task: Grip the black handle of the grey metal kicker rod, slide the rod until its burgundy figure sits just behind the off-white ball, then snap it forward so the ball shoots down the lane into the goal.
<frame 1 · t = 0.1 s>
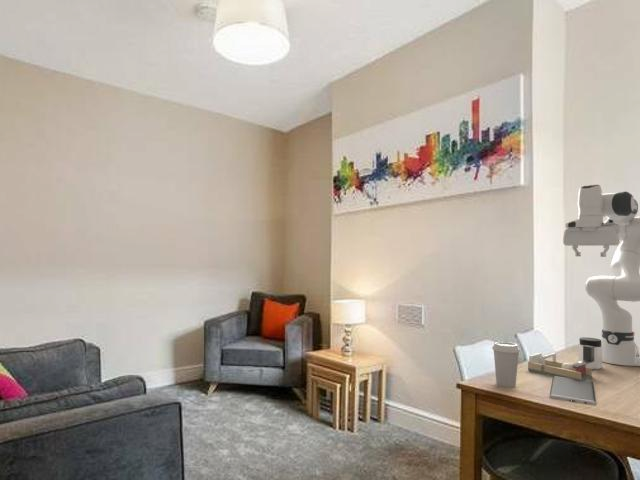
hand: (590, 256, 181), 48 cm above the table, tool pointing down, fingers open, 8 cm apart
pitch: (559, 373, 178), on the table
coffee cup: (505, 385, 161), on the table
jar: (590, 367, 190), on the table
kicker rod: (582, 361, 173), point 6 cm above the table, slide at 0.0 cm
smartphone: (572, 392, 156), on the table
ball: (566, 368, 175), point 3 cm above the table, touching pitch
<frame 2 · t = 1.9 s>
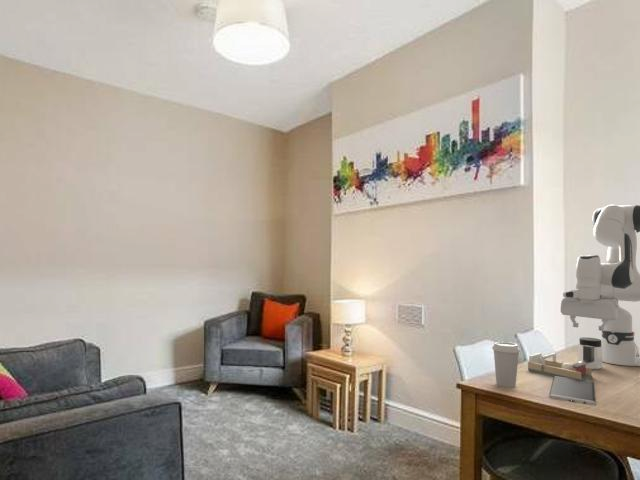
hand: (588, 328, 177), 19 cm above the table, tool pointing down, fingers open, 8 cm apart
nothing on the table moved.
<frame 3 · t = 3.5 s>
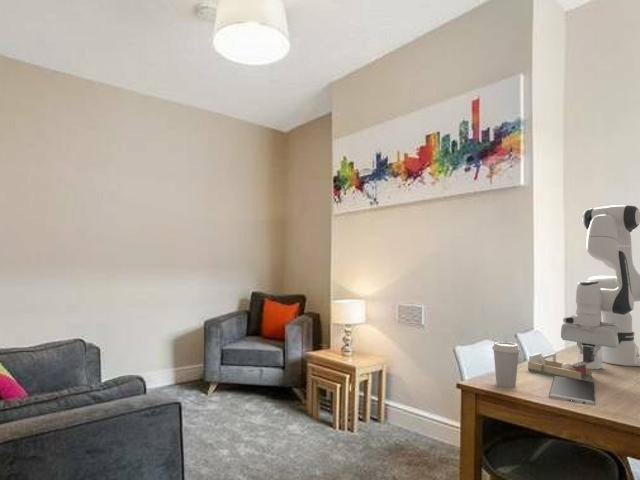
hand: (588, 354, 177), 8 cm above the table, tool pointing down, fingers closed on kicker rod, 3 cm apart
kicker rod: (582, 361, 173), point 6 cm above the table, slide at 0.0 cm, touching gripper
everything else where it was.
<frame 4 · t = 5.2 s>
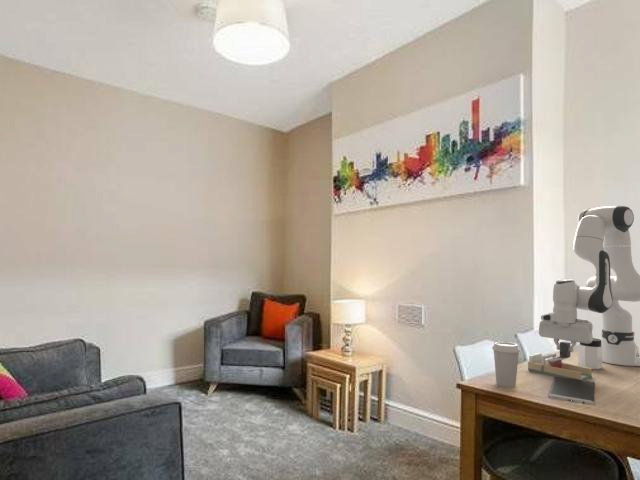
hand: (564, 350, 184), 8 cm above the table, tool pointing down, fingers closed on kicker rod, 3 cm apart
kicker rod: (558, 356, 180), point 6 cm above the table, slide at 9.0 cm, touching gripper
ball: (547, 364, 181), point 3 cm above the table, tilted 157°, touching pitch
everything else where it was.
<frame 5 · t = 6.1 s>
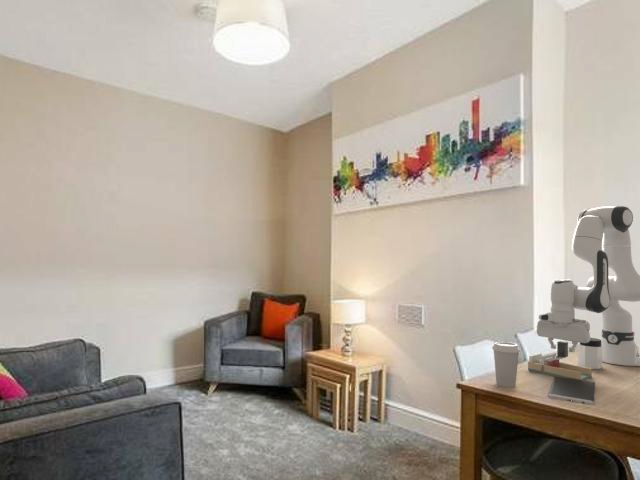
hand: (562, 350, 184), 8 cm above the table, tool pointing down, fingers open, 6 cm apart
kicker rod: (556, 356, 181), point 6 cm above the table, slide at 10.0 cm
ball: (543, 363, 182), point 3 cm above the table, tilted 111°, touching pitch
everything else where it was.
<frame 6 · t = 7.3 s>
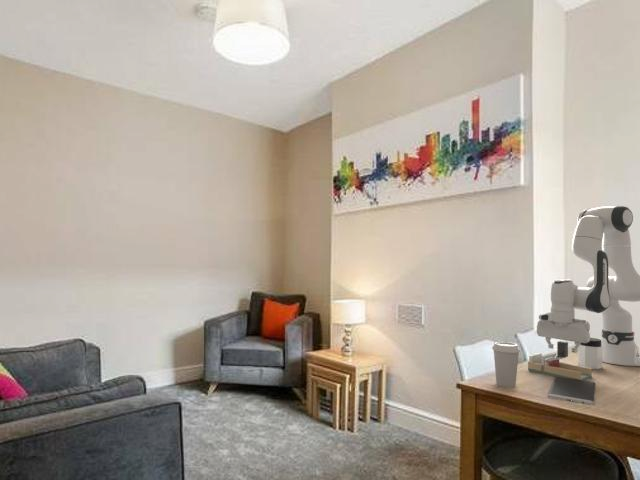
hand: (562, 350, 184), 8 cm above the table, tool pointing down, fingers open, 8 cm apart
ball: (547, 364, 181), point 3 cm above the table, tilted 149°, touching pitch
everything else where it was.
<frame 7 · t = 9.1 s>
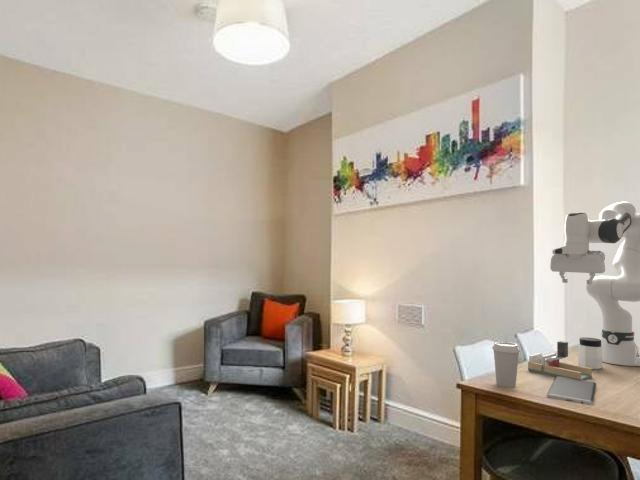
hand: (576, 283, 183), 37 cm above the table, tool pointing down, fingers open, 8 cm apart
nothing on the table moved.
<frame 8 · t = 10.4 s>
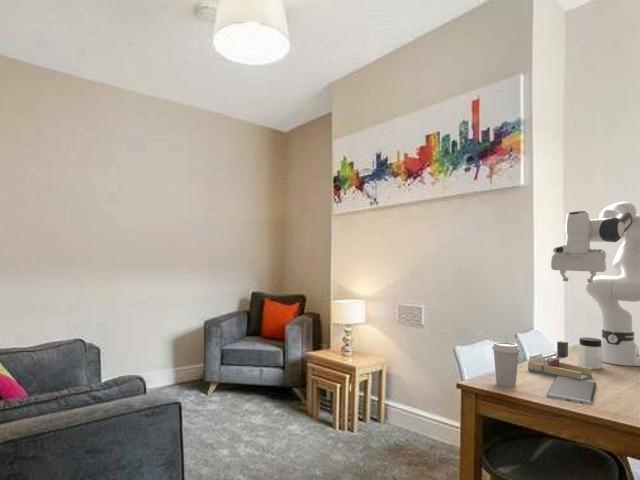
hand: (577, 282, 183), 37 cm above the table, tool pointing down, fingers open, 8 cm apart
nothing on the table moved.
at the end: ball 1.7 cm from the target spot, point 3.0 cm above the table; kicker rod slide at 10.0 cm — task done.
